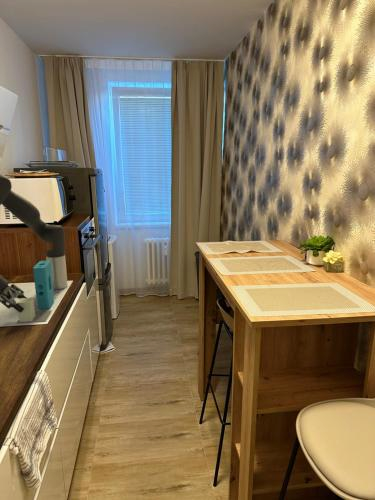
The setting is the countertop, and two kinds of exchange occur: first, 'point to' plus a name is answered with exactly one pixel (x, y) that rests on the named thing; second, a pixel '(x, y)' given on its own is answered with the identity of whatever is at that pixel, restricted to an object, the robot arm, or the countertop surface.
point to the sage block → (27, 309)
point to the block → (44, 284)
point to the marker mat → (39, 316)
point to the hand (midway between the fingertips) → (25, 306)
